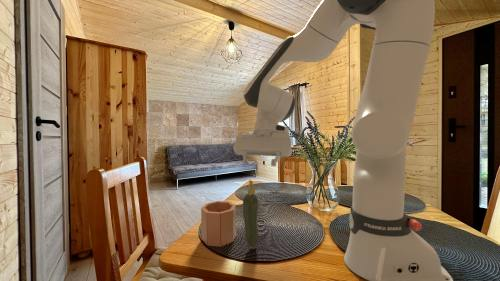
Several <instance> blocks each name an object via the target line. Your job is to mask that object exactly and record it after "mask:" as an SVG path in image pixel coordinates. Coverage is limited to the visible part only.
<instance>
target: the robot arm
mask: <svg viewBox="0 0 500 281" xmlns="http://www.w3.org/2000/svg"><path fill="white" fill-rule="evenodd" d="M435 18H436V3H435V0H321V2H320V4H319V5H318V6H317V7H316V9H315V10H314V12H313V14H312V15H311V17H310V18H309V20H308V21H307V23H306V25H305V26H304V27H303V28H302V30H301V31H299V32H298V33H297V34H295V35H292V36H287V38H285V39H284V40H283V41H282V42H281V43H280V44H279V46H277V48H276V49H275V51H274V52H273V53H272V54H271V56H270V57H269V58H268V59H267V61H266V62H265V63H264V64H263V65H262V67H261V68H260V69H259V71H258V73H256V74H255V76H254V77H253V78H252V79H251V80H250V81H249V83H248V84H247V85H246V87H245V89H244V91H243V92H244V93H243V99H244V100H245V102H246V104H247V105H248V106H250V107H253V108H256V109H258V110H257V112H256V120H255V122H254V126H253V130H252V131H248V132H245V131H242V132H239V133H238V134H237V135H236V137H235V141H234V143H233V146H232V148H233V152H234V153H235V155H237V156H238V155H242V158H243V161H242V163H243V165H247V166H248V165H249V157H247V156H259V157H261V156H263V157H266V156H267V157H274V158H271V162H270V164H271V167H277V163H278V162H279V161H280V160H281V157H285V158H286V157H287V158H288V157H290V156H292V154H293V153H292V151H293V150H292V140H291V136H290V131H289V130H290V129H289V127H288V126H284V125H280V124H279V123H283V122H284V121H286V120H287V119H289V118H290V117H291V116H292V115H293V113H294V111H295V108H296V98H295V96H294V94H293V93H291V92H289V91H287V90H285V89H284V88H281V87H279V86H277V85H275V84H272V83H271V82H269V81H270V80H271V79H272V78H273V76H274V75H275V74H276V72H278V70H279V69H280V67H282V65H284V64H286V63H289V62H300V63H301V62H303V63H318V62H321V61H324V60H326V59H327V58H329V57H330V56H331V55H332V53H333V52H334V51H335V50H336V49H337V47H338V45H339V44H340V43H341V41H342V39H343V38H344V37H345V35H346V33H348V31H349V30H350V28H352V27H353V26H356V25H360V27H361V28H362V29H363V28H364V29H370V30H375V35H374V39H373V42H372V47H371V52H370V56H369V57H370V58H369V63H368V67H367V71H366V72H367V73H366V74H365V75H366V76H365V81H364V83H363V84H364V85H363V88H362V91H361V94H360V96H359V97H360V98H359V101H358V105H357V109H356V112H355V117H354V120H353V124H352V130H351V140H352V143H353V145H354V147H355V148H356V149H355V150H356V152H355V161H354V169H353V170H354V171H353V180H352V205H351V206H350V212H349V228H350V232H349V240H348V244H347V247H346V251H345V253H344V256H343V261H344V263H345V265H346V267H347V268H348V269H349V270H351V271H352V272H353V273H354V274H356V275H357V276H359V277H361V278H363V279H365V280H366V281H454V279H453V277H452V275H450V273H449V272H448V271H447V270H446V269H445V267H444V266H442V265H441V264H442V262H441V260H440V257H439V254H438V253H437V251H436V250H435V248H433V246H431V244H430V243H428V241H426V240H425V239H424V238H423V237H421V236H420V235H419V234H418V233H416V232H419V231H421V230H422V229H423V226H422V224H421V223H420V222H419V221H418V220H416V219H414V218H413V219H412V217H411V216H410V215H408V214H406V213H405V212H404V210H405V208H404V207H405V189H406V151H407V150H406V149H407V148H406V147H407V145H408V143H409V141H410V140H409V139H410V135H411V132H412V127H413V123H414V118H415V113H416V109H417V105H418V100H419V95H420V90H421V85H422V80H423V76H424V72H425V68H426V64H427V60H428V57H429V52H430V48H431V43H432V39H433V33H434V26H435V20H436V19H435ZM446 279H448V280H446Z"/></svg>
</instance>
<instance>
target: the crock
mask: <svg viewBox="0 0 500 281" xmlns="http://www.w3.org/2000/svg"><path fill="white" fill-rule="evenodd" d="M200 214H201V215H200V216H201V217H200V219H201V241H203V242H204V244H205V245H206V246H210V247H211V246H212V247H220V248H221V247H224V246H226V244H227V245H229V243H230V244H232V243H231V242H233V241H235V240H234V239H236V238H235V236H236V237H237V205H236V204H234V203H233V202H231V201H226V200H216V201H215V200H214V201H211V202H210V201H209V202H206V203H205V204H204V205H203V206H202V207H201V209H200ZM233 243H234V242H233Z"/></svg>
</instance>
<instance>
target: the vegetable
mask: <svg viewBox="0 0 500 281" xmlns="http://www.w3.org/2000/svg"><path fill="white" fill-rule="evenodd" d="M255 189H256V187H255V185H254V182H253V180H251V179H249V182H248V188H247V194H246V195H245V196H244V198H243V199H242V215H243V222H244V232H245V238H246V242H247V243H246V244H247V245H248V246H249V247H250V248H251V249H255V248H254V247H256V248H257V246H258V244H259V230H258V211H259V199H258V196H256V194H255V193H256V190H255Z"/></svg>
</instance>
